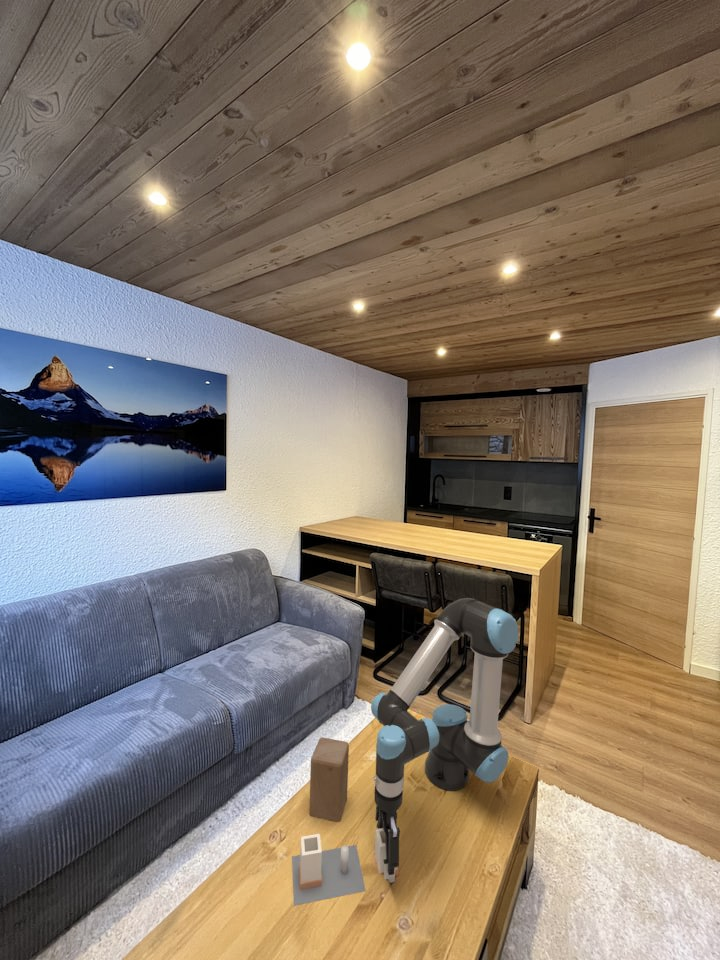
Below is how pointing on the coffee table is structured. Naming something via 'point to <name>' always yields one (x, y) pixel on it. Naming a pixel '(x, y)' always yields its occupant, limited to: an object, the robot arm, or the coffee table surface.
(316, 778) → the wooden block
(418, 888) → the coffee table surface
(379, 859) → the sleeve
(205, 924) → the coffee table surface
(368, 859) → the coffee table surface
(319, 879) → the sleeve
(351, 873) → the pin board
